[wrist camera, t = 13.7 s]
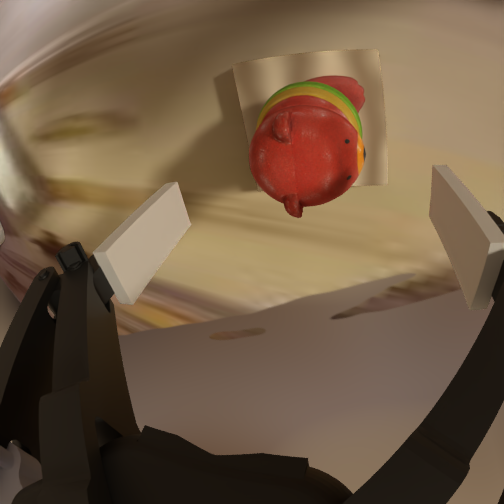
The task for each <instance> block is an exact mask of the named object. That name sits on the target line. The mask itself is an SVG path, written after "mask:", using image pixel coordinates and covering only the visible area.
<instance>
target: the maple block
mask: <svg viewBox="0 0 504 504" xmlns="http://www.w3.org/2000/svg"><path fill="white" fill-rule="evenodd" d="M232 69H233V73H234V78H235V83H236V87H237V92H238V97H239V101H240V106H241V111H242V116H243V121H244V125H245V130H246V135H247V140H248V145H249V148H250V144H251V141H252V138H253V136H254V134H255V132H256V126H257V120H258V117H259V114H260V112H261V110H262V108H263V106H264V104H265V103H266V102H267V100H268V99H269V98H270V97H271V96H272V95H273V94H274V93H275V92H277V91H278V90H280V89H281V88H283V87H285V86H287V85H289V84H293V83H296V82H304V81H306V80H309V79H312V78H316V77H321V76H330V75H337V76H347V77H351V78H353V79H355V80H357V82H358V84H359V85H360V86H362V87H363V88H364V94H363V95H364V97H365V102H364V105H363V107H362V108H361V109H360V111H359V113H358V115H359V117H360V121H361V125H362V141H363V144H364V148H365V152H366V158H365V161H364V165H363V168H362V170H361V172H360V174H359V176H358V178H357V180H356V181H355V182H354V184H353V185H352V186H370V185H388V155H387V131H386V115H385V103H384V93H383V83H382V75H381V67H380V60H379V53H378V50H335V51H320V52H309V53H299V54H291V55H283V56H276V57H269V58H263V59H257V60H251V61H246V62H241V63H236V64H232ZM256 185H257V190H258V191H263V190H262V188H261V187H260V186H259V185H258V184H257V182H256Z"/></svg>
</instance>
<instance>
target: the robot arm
mask: <svg viewBox="0 0 504 504" xmlns="http://www.w3.org/2000/svg"><path fill="white" fill-rule="evenodd" d="M429 217H430V219H431V221H432V223H433V225H434V227H435V229H436V231H437V233H438V235H439V237H440V239H441V241H442V243H443V246H444V248H445V250H446V252H447V255H448V257H449V259H450V261H451V264H452V266H453V269H454V271H455V273H456V276H457V278H458V281H459V283H460V286H461V289H462V291H463V294H464V297H465V299H466V302H467V305H468V308H469V310H479V309H486V308H487V307H488V304H489V302H490V299H491V297H493V299H494V301H495V303H494V305H493V307H492V309H491V311H490V314H489V316H488V318H487V320H486V322H485V324H484V326H483V328H482V330H481V332H480V334H479V335H478V337H477V339H476V341H475V343H474V345H473V346H472V348H471V350H470V352H469V354H468V355H467V357H466V359H465V360H464V362H463V364H462V365H461V367H460V369H459V370H458V372H457V374H456V375H455V377H454V378H453V380H452V381H451V383H450V384H449V386H448V387H447V389H446V390H445V392H444V393H443V395H442V396H441V397H440V399H439V400H438V402H437V403H436V405H435V406H434V407H433V409H432V410H431V411H430V413H429V414H428V415H427V416H426V418H425V419H424V420H423V422H422V423H421V424H420V425H419V427H418V428H417V429H416V430H415V431H414V432H413V433H412V434H411V435H410V436H409V437H408V439H407V440H406V441H405V442H404V443H403V444H402V445H401V447H400V448H399V449H398V450H397V451H396V452H395V453H394V454H393V455H392V457H391V458H390V459H389V460H388V461H387V462H386V463H385V464H384V465H383V466H382V467H381V468H380V469H379V470H378V471H377V472H376V473H375V474H374V475H373V476H372V477H371V478H370V479H369V480H368V481H367V482H366V483H365V484H364V485H363V486H362V487H360V489H358V490H357V491H356V492H355V493H354V494H353V493H352V492H351V491H350V490H349V489H348V488H347V487H346V486H345V485H344V484H342V483H341V482H340V481H339V480H337V479H336V478H334V477H332V476H330V475H329V474H327V473H325V472H323V471H320V470H318V469H315V468H312V467H309V463H308V458H300V457H290V456H280V455H272V454H264V453H259V454H258V453H257V454H242V455H213V454H210V453H208V452H207V451H205V450H203V449H201V448H199V447H197V446H196V445H194V444H192V443H190V442H188V441H187V440H185V439H183V438H181V437H180V436H178V435H175V434H171V433H168V432H165V431H161V430H158V429H155V428H152V427H149V426H146V425H145V426H144V428H143V430H142V432H140V430H139V428H138V426H137V424H136V420H135V416H134V413H133V408H132V404H131V400H130V396H129V391H128V387H127V382H126V377H125V373H124V367H123V362H122V356H121V352H120V345H119V339H118V332H117V325H116V318H115V310H114V304H113V302H112V301H111V299H110V298H111V297H112V296H113V294H115V295H116V297H117V299H118V301H119V302H120V304H129V305H133V304H134V303H135V301H136V300H137V298H138V297H139V295H140V294H141V292H142V291H143V290H144V288H145V287H146V285H147V284H148V283H149V281H150V280H151V278H152V277H153V276H154V274H155V273H156V271H157V270H158V269H159V267H160V266H161V264H162V263H163V262H164V260H165V259H166V258H167V256H168V255H169V254H170V252H171V251H172V249H173V248H174V247H175V245H176V244H177V243H178V241H179V240H180V239H181V237H182V236H183V235H184V234H185V232H186V231H187V230H188V228H189V227H190V226H191V223H190V220H189V217H188V214H187V211H186V208H185V205H184V201H183V198H182V195H181V192H180V189H179V185H178V182H171V183H166V184H164V185H163V186H162V187H161V188H160V189H159V190H158V191H156V192H155V193H154V194H153V195H152V196H151V197H150V198H149V199H147V200H146V201H145V202H144V203H143V204H142V205H141V206H140V207H139V208H138V209H137V210H135V211H134V212H133V213H132V214H131V215H130V216H129V217H128V218H127V219H126V220H125V221H124V222H123V223H122V224H121V225H120V226H119V227H118V228H116V229H115V230H114V231H113V232H112V233H111V234H110V235H109V236H108V237H107V238H106V239H105V240H104V241H103V242H102V243H101V244H100V245H99V246H98V247H97V248H96V249H95V251H94V252H93V255H92V256H91V257H90V258H89V259H88V258H87V256H86V254H85V252H84V250H83V248H82V246H81V244H80V242H73V243H70V244H68V245H66V246H65V247H63V248H62V249H61V250H60V251H59V252H58V253H57V254H56V256H55V257H56V259H57V261H58V262H59V264H60V266H61V268H62V270H63V271H64V274H60V275H58V274H57V272H56V270H55V268H54V267H48V268H46V269H45V268H44V269H43V270H41V271H40V272H39V273H38V275H37V276H36V277H35V278H34V280H33V282H32V283H31V285H30V287H29V289H28V291H27V293H26V295H25V296H24V298H23V300H22V302H21V304H20V306H19V308H18V310H17V312H16V314H15V316H14V319H13V321H12V322H11V325H10V327H9V329H8V331H7V334H6V336H5V338H4V340H3V342H2V345H1V347H0V504H446V503H447V502H448V501H449V499H450V498H451V497H452V496H453V494H454V493H455V492H456V490H457V489H458V488H459V486H460V485H461V483H462V482H463V480H464V479H465V477H466V476H467V473H468V471H469V469H470V465H469V463H470V460H471V458H472V457H473V455H474V453H475V452H476V450H477V448H478V447H479V445H480V444H481V442H482V440H483V438H484V437H485V435H486V433H487V431H488V430H489V428H490V426H491V424H492V423H493V421H494V419H495V417H496V415H497V413H498V411H499V409H500V407H501V405H502V403H503V401H504V222H503V221H502V220H501V219H500V217H498V216H497V215H495V214H494V213H493V212H491V211H486V210H485V209H484V208H483V206H482V205H481V204H480V203H479V201H478V200H477V199H476V198H475V197H474V195H473V194H472V193H471V192H470V191H469V189H468V188H467V187H466V186H465V185H464V184H463V183H462V181H461V180H460V179H459V178H458V177H457V176H456V175H455V174H454V173H453V172H452V170H451V169H450V168H449V167H448V166H447V165H433V167H432V187H431V200H430V211H429ZM47 306H49V308H50V309H51V311H52V312H53V313H54V315H55V316H54V318H52V317H51V316H50V315H49V313H48V309H47ZM10 441H12V442H13V443H11V442H10ZM498 504H504V490H503V492H502V495H501V497H500V500H499V502H498Z"/></svg>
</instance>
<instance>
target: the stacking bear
mask: <svg viewBox="0 0 504 504" xmlns="http://www.w3.org/2000/svg"><path fill="white" fill-rule="evenodd" d="M363 94H364V88H363V87H362V86H360V85H359V84H358V82H357V80H355V79H353V78H351V77H347V76H337V75H330V76H321V77H316V78H312V79H309V80H306V81H304V82H296V83H293V84H289V85H287V86H285V87H283V88H281V89H280V90H278V91H277V92H275V93H274V94H273V95H272V96H271V97H270V98H269V99H268V100H267V102H266V103H265V104H264V106H263V108H262V110H261V112H260V114H259V117H258V120H257V126H256V132H255V134H254V136H253V138H252V141H251V144H250V148H249V164H250V169H251V172H252V174H253V177H254V179H255V180H256V182H257V184H258V185H259V186H260V187H261V188H262V190H263V191H264V192H266V193H267V194H268V195H269V196H271V197H272V198H273V199H275V200H277V201H279V202H281V203H284V207H285V209H286V211H287V212H288V213H289V214H290V215H291V216H294V217H297V218H300V217H302V212H303V207H307V206H316V205H321V204H324V203H327V202H329V201H331V200H333V199H335V198H337V197H339V196H340V195H342V194H343V193H345V192H346V191H347V190H348V189H349V188H350V187H351V186H352V185H353V184H354V182H355V181H356V180H357V178H358V176H359V174H360V172H361V170H362V168H363V165H364V161H365V158H366V152H365V148H364V144H363V141H362V125H361V121H360V117H359V115H358V113H359V111H360V109H361V108H362V107H363V105H364V102H365V97H364V95H363Z"/></svg>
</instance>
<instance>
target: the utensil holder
mask: <svg viewBox="0 0 504 504" xmlns="http://www.w3.org/2000/svg"><path fill="white" fill-rule="evenodd" d="M4 240H5V234H4V230H3V227H2V225H1V223H0V245H1V244H2V243H3V242H4Z"/></svg>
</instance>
